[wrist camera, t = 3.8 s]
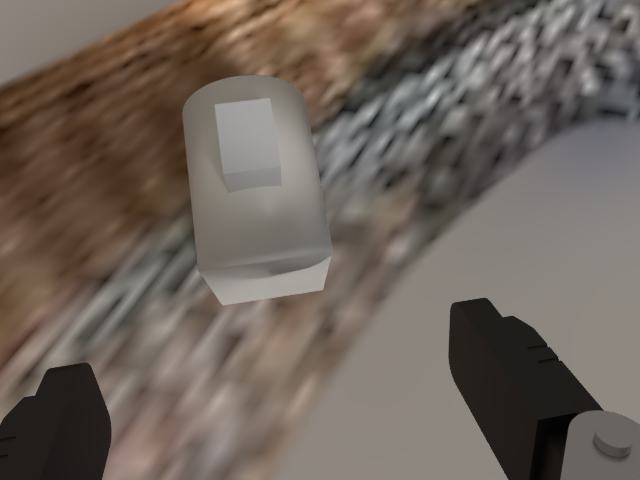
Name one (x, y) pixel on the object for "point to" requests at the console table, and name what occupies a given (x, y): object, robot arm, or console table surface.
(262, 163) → the cylinder
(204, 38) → the console table surface
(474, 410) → the robot arm
